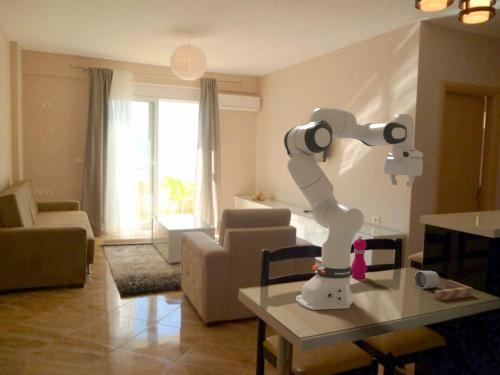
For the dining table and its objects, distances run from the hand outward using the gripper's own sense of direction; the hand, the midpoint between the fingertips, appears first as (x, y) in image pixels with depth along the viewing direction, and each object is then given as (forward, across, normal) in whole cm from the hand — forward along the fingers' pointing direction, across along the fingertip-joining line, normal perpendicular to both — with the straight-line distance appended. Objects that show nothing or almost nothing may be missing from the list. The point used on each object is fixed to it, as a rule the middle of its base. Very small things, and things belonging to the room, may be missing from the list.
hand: (401, 185), depth 175 cm
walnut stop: (+45, +11, +14) cm, 49 cm away
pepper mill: (+45, -20, -7) cm, 50 cm away
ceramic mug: (+46, +1, +13) cm, 47 cm away
